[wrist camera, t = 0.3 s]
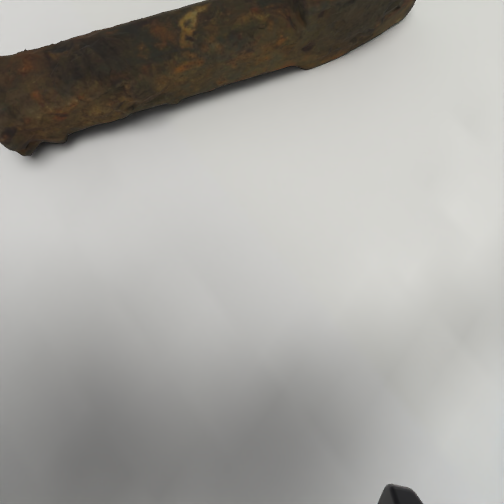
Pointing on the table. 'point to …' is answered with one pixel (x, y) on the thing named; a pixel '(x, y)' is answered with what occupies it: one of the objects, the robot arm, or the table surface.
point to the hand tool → (174, 60)
